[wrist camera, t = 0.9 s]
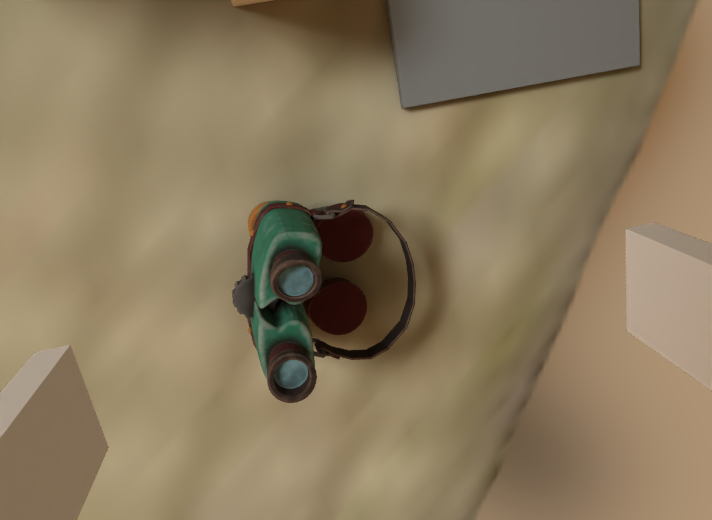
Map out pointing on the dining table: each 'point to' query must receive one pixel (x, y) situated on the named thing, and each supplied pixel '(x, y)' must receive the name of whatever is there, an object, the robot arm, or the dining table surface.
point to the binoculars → (307, 289)
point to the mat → (506, 44)
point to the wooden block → (246, 2)
